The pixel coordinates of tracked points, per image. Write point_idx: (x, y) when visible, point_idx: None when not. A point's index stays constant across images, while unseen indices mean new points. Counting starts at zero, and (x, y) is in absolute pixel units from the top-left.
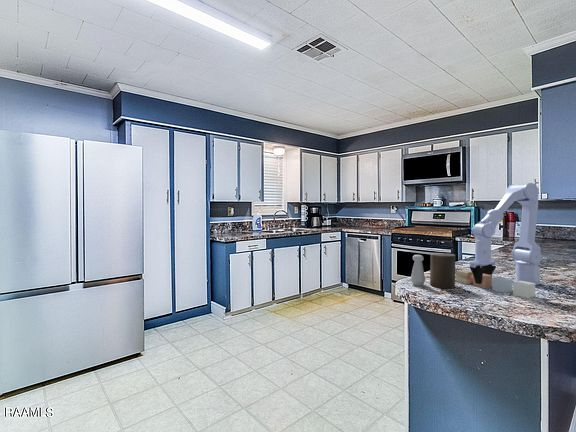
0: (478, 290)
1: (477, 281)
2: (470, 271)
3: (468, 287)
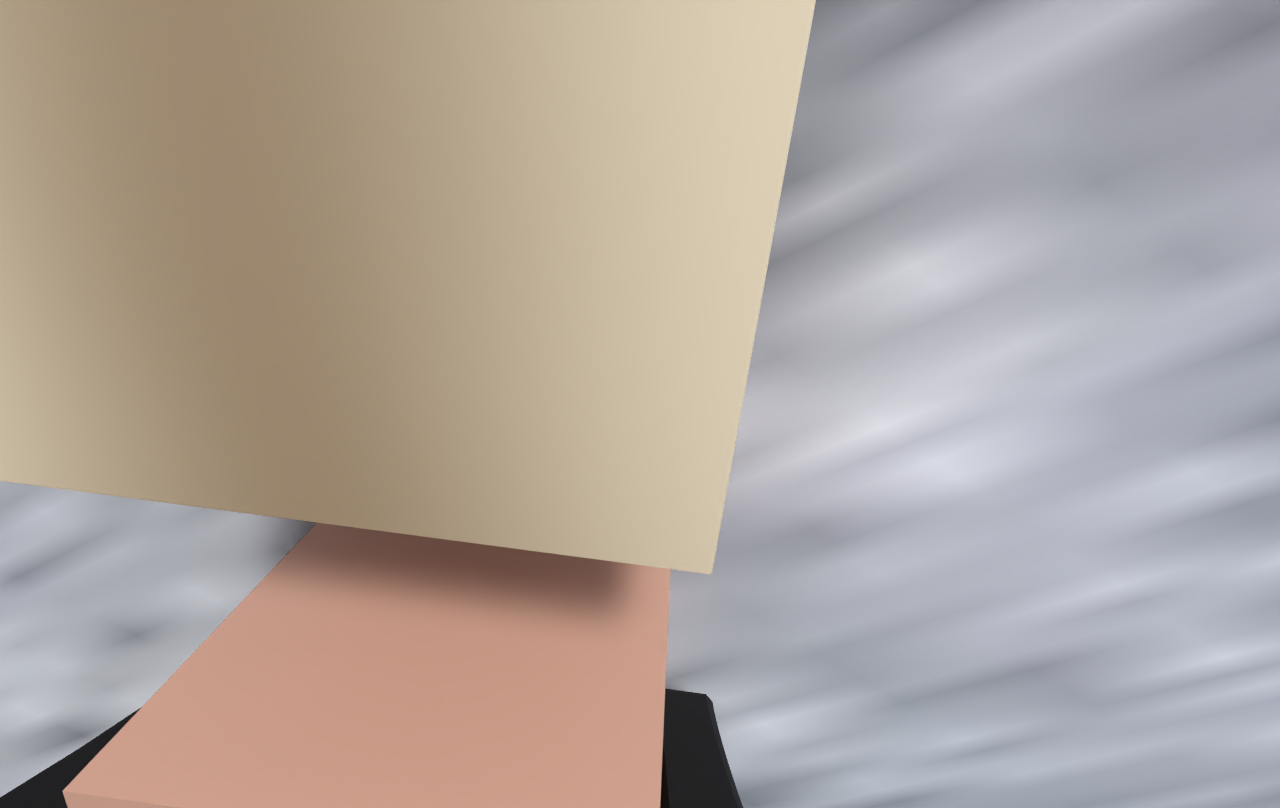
0: (56, 733)
1: None
2: (579, 421)
3: (39, 522)
